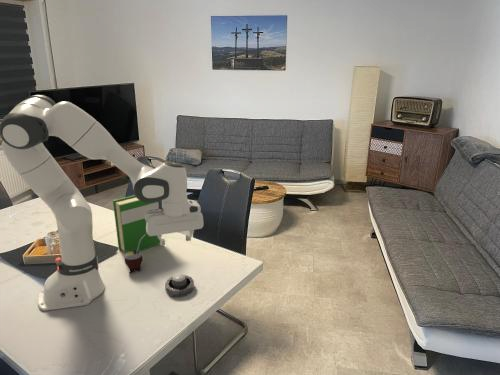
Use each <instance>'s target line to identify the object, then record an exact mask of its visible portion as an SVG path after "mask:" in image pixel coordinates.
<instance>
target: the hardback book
mask: <svg viewBox="0 0 500 375" xmlns="http://www.w3.org/2000/svg"><path fill="white" fill-rule="evenodd" d="M112 204H113V212H114V221H115V230H116V238H117V245H118V250H119V251H123V252H124V255H125V254H126V253H127V252H128V251H129V250H133V249H136V250H137V248H138V244H139V240H140V239H141V238H142V237H143V236H144V235H145V234H146V235H145V236H144V237H143V238H142V240H141V243H140V245H139V249H138V250H139V251H140V252H141V251H144V250H147V249H150V248H152V247H155V246H158V245H161V244H160V240H159V239H158V237H157V235H156V236H149V235H148V234H147V232H146V221H145V214H146V213H147V212H148V211H149V210H155V209H160V208H159V207H160V205H159V201H156V202H150V203H145V202H142V201H140V200H138V199H137V198H136V196H135V194H133V195H129V196H125V197H121V198H117V199H114V200H112Z"/></svg>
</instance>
